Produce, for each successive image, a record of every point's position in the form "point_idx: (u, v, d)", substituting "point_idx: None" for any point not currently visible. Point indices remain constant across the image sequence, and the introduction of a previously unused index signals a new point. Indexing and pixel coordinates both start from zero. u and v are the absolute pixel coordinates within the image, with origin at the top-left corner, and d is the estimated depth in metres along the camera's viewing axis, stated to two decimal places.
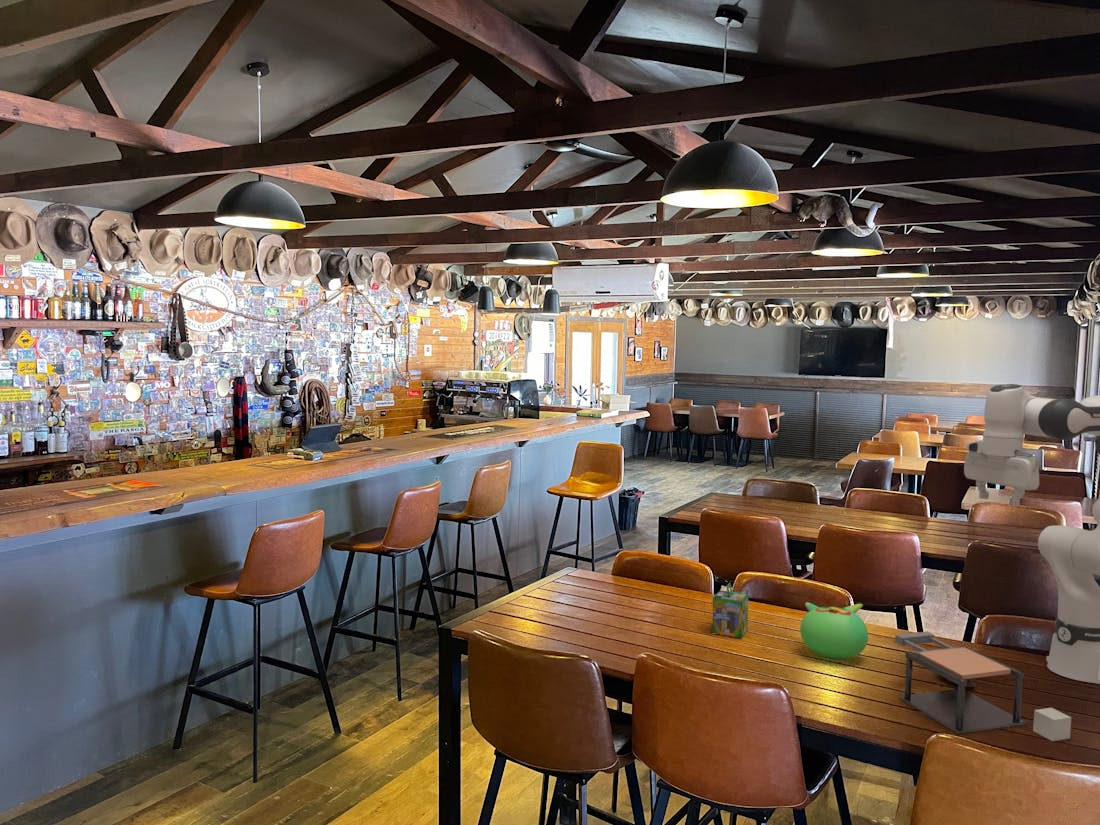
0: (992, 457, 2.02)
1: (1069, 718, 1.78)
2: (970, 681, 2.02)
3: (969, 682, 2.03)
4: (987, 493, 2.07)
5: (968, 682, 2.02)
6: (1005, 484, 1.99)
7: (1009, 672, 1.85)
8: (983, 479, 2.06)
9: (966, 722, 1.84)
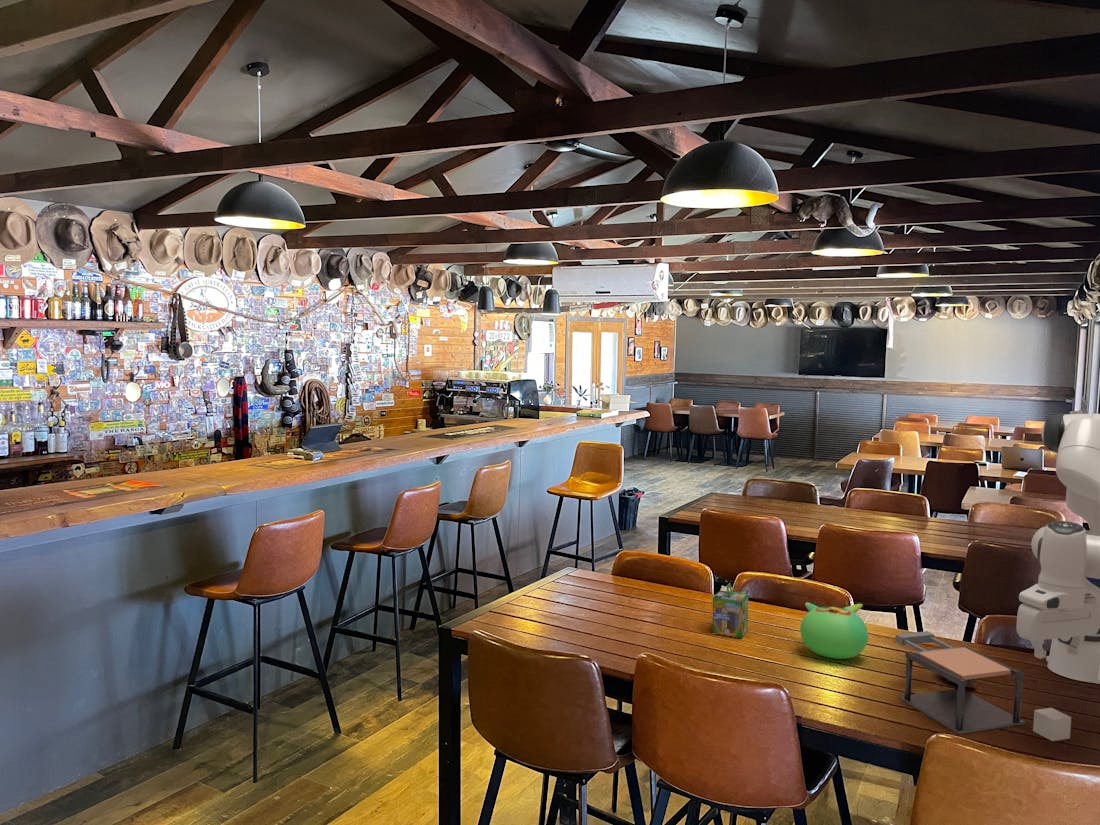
0: (1073, 609, 1.75)
1: (1069, 718, 1.78)
2: (970, 681, 2.02)
3: (970, 683, 2.02)
4: None
5: (968, 682, 2.02)
6: (1076, 634, 1.77)
7: (1009, 673, 1.85)
8: (1053, 636, 1.75)
9: (966, 722, 1.84)
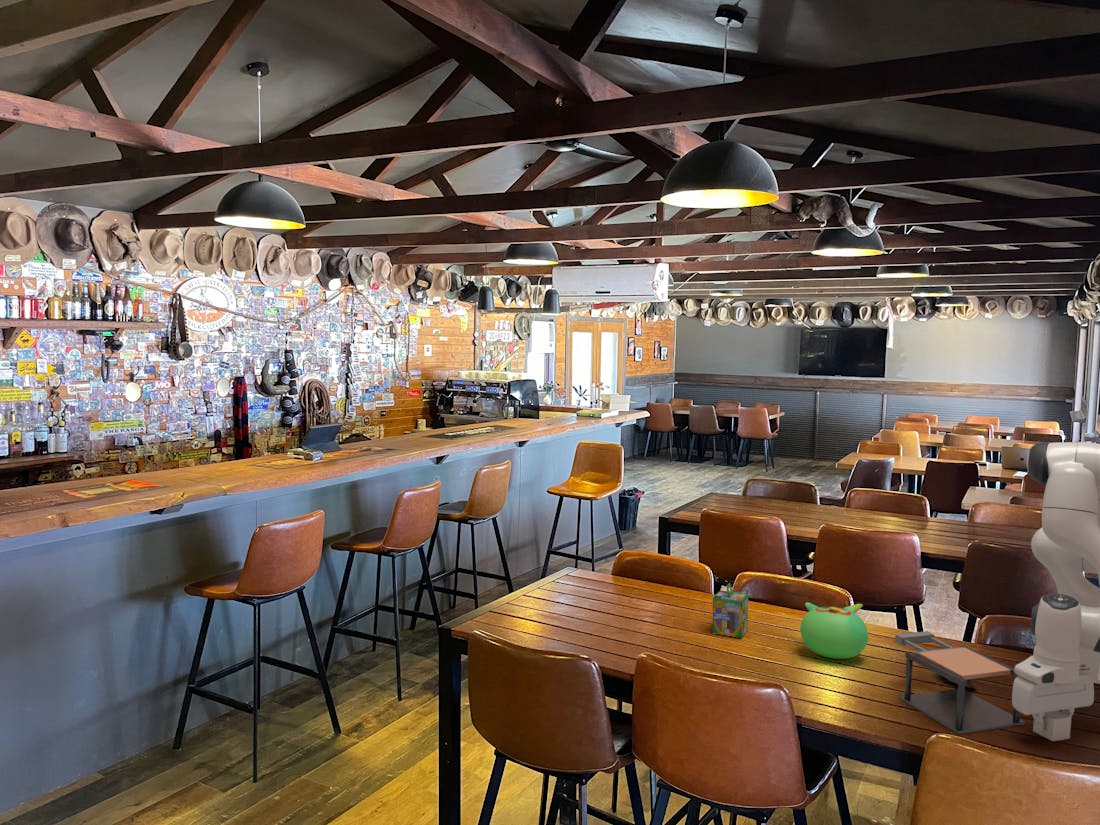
0: (1068, 683, 1.76)
1: (1069, 718, 1.78)
2: (971, 681, 2.02)
3: (970, 683, 2.02)
4: None
5: (969, 682, 2.02)
6: (1071, 707, 1.79)
7: (1009, 673, 1.85)
8: (1048, 710, 1.77)
9: (966, 722, 1.84)
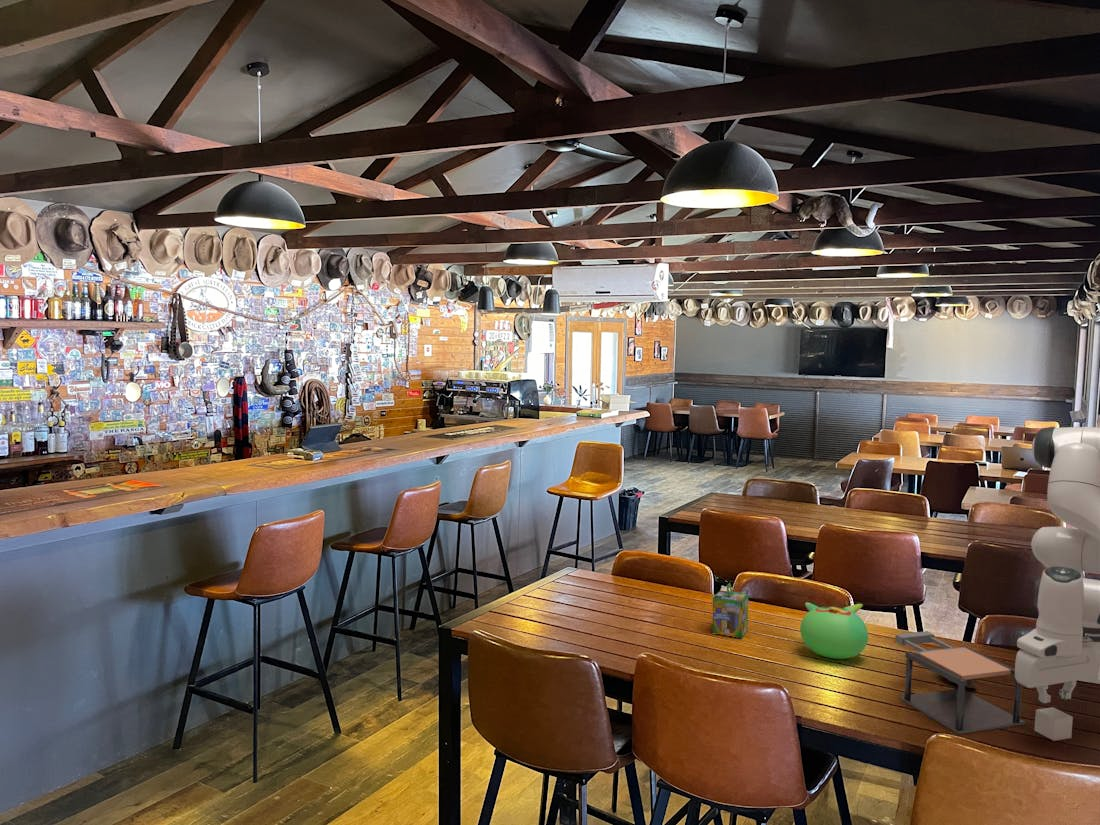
0: (1071, 655, 1.76)
1: (1070, 718, 1.78)
2: (971, 682, 2.02)
3: (970, 683, 2.02)
4: None
5: (969, 683, 2.02)
6: (1074, 679, 1.79)
7: (1009, 673, 1.85)
8: (1051, 682, 1.77)
9: (966, 722, 1.84)
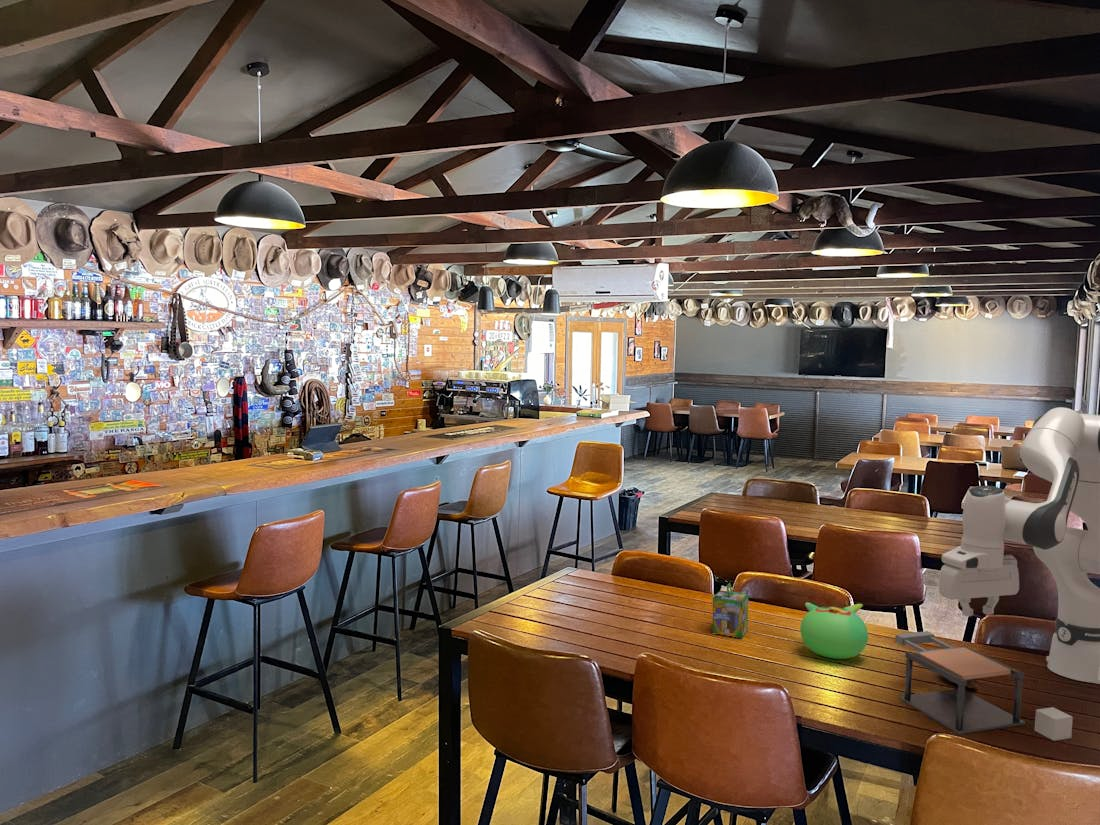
0: (992, 569, 1.82)
1: (1070, 717, 1.78)
2: (972, 682, 2.02)
3: (971, 683, 2.02)
4: None
5: (970, 683, 2.02)
6: (996, 594, 1.85)
7: (1009, 673, 1.85)
8: (973, 595, 1.83)
9: (966, 722, 1.84)
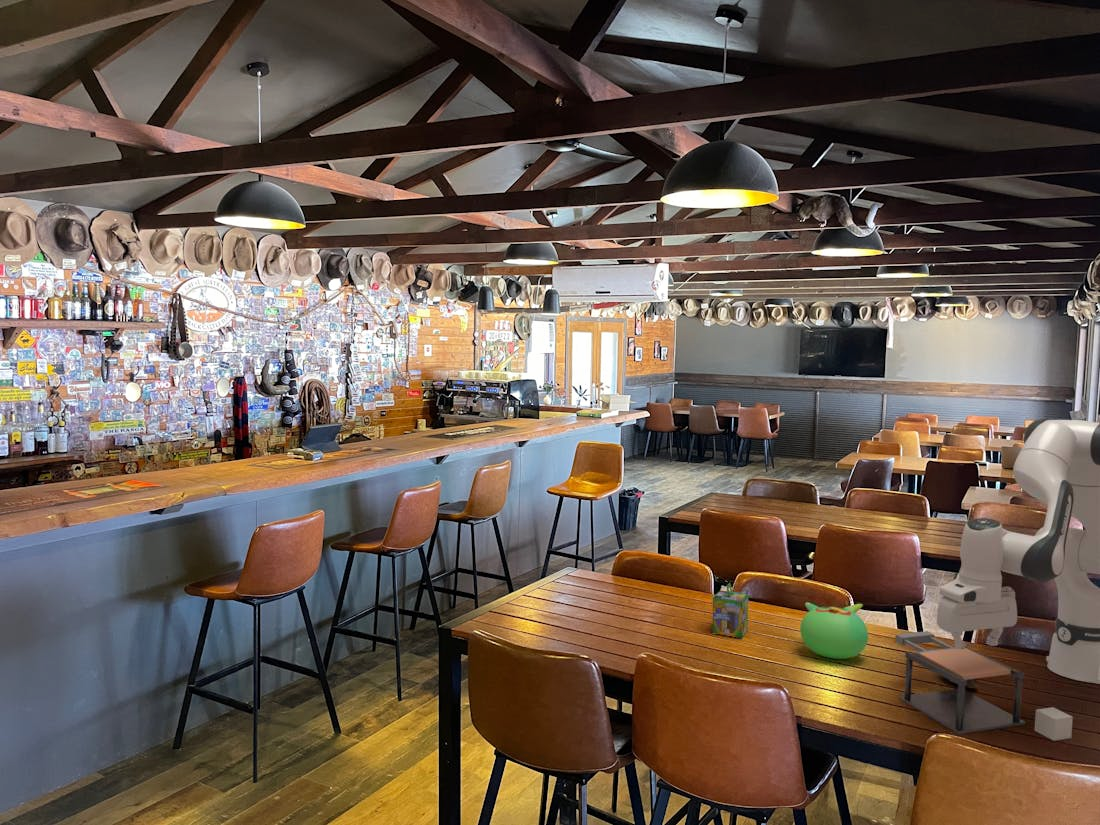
0: (990, 602, 1.83)
1: (1070, 717, 1.78)
2: (972, 682, 2.02)
3: (971, 683, 2.02)
4: None
5: (970, 683, 2.02)
6: (994, 626, 1.85)
7: (1009, 673, 1.85)
8: (971, 628, 1.83)
9: (966, 722, 1.84)
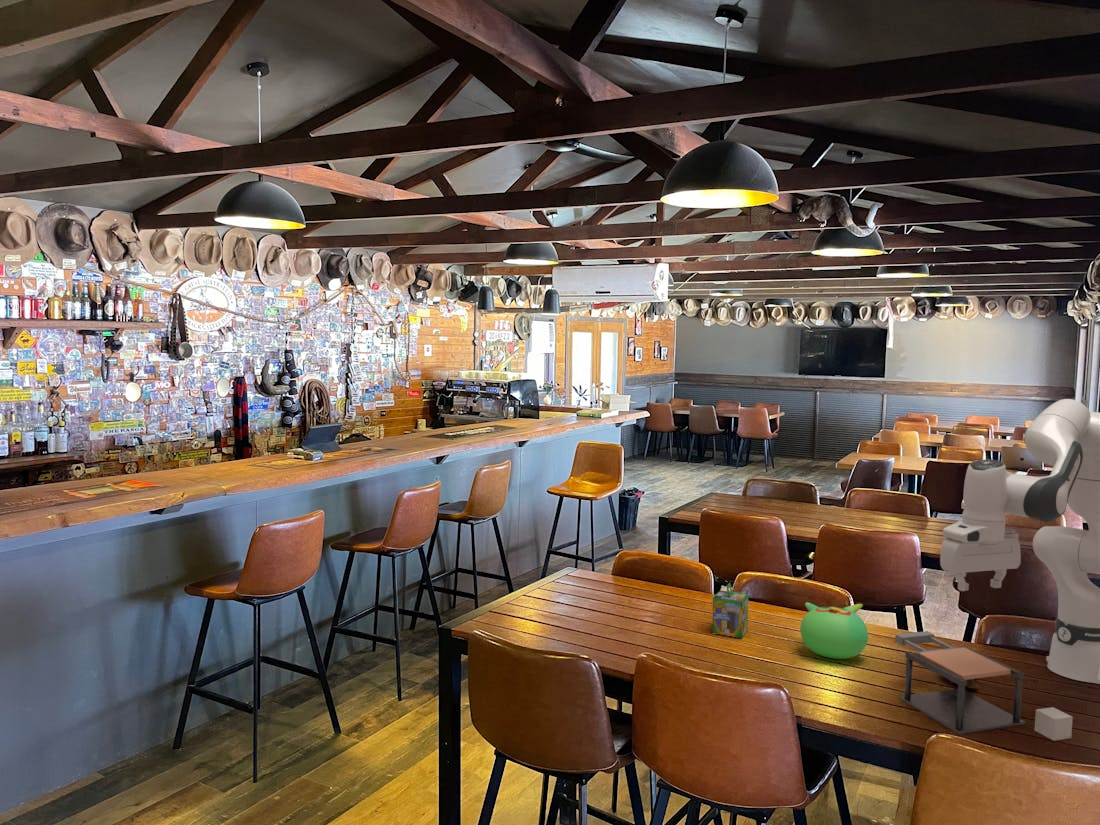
0: (993, 543, 1.82)
1: (1070, 717, 1.78)
2: (973, 682, 2.02)
3: (972, 684, 2.02)
4: None
5: (970, 683, 2.02)
6: (998, 568, 1.84)
7: (1009, 673, 1.85)
8: (974, 569, 1.82)
9: (966, 722, 1.84)
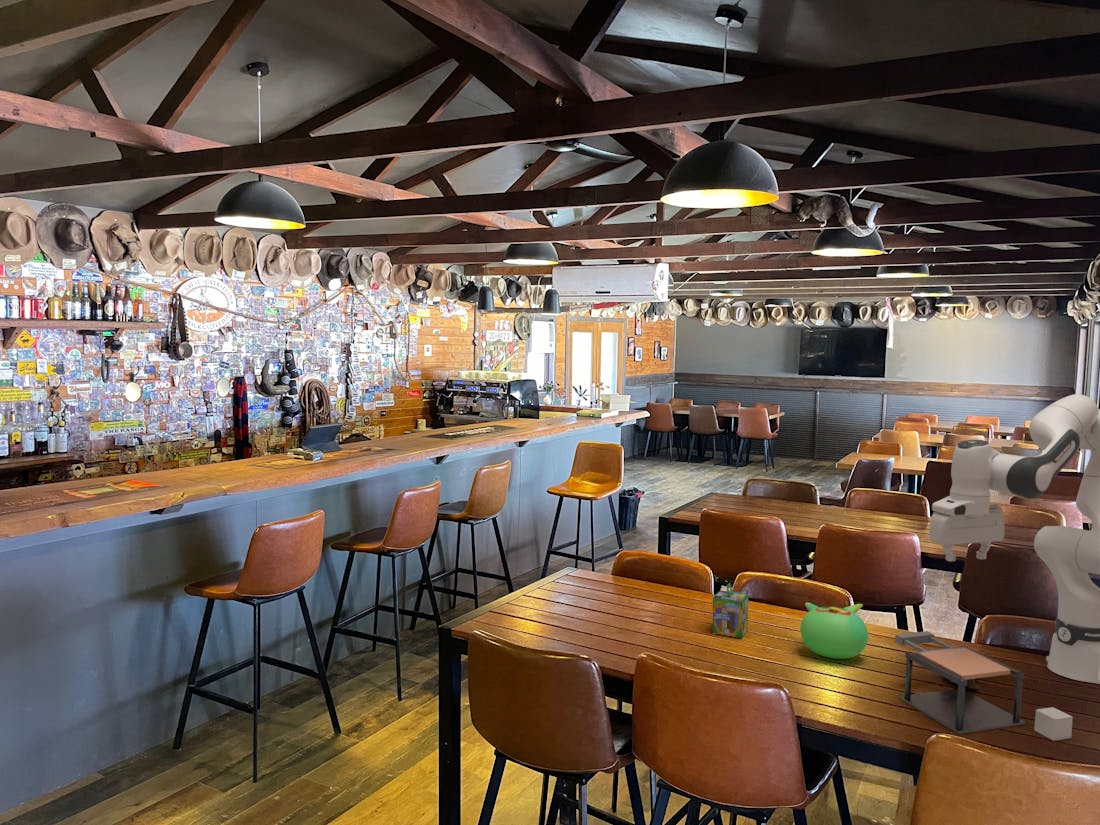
0: (979, 516, 1.96)
1: (1070, 717, 1.78)
2: (973, 682, 2.02)
3: (972, 684, 2.02)
4: None
5: (971, 683, 2.02)
6: (983, 540, 1.98)
7: (1009, 673, 1.85)
8: (961, 541, 1.96)
9: (966, 722, 1.84)
